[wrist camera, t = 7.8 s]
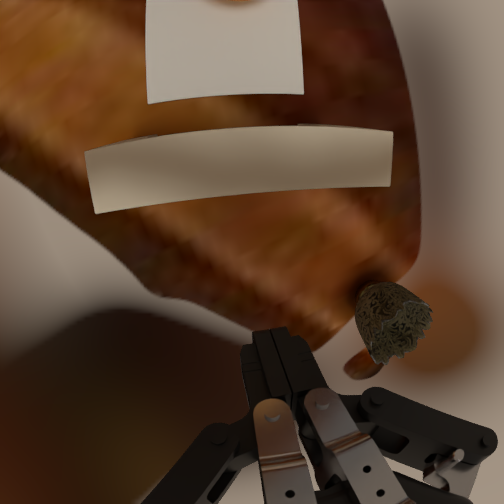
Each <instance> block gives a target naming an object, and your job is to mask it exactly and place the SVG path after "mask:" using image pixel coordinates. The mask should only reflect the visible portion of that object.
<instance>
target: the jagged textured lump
mask: <svg viewBox="0 0 504 504" xmlns="http://www.w3.org/2000/svg"><path fill="white" fill-rule="evenodd" d="M355 302H356V309H355V321H356V325H357V328H358V330H359V333H360V335H361V337H362V339H363V341H364V343H365V345H366V347H367V350H368V352H369V354H370V355H371V356H370V357H372V359H373V360H374V362H375V363H376V364H379V363H380V362H382V363H383V364H385V365H387V364H388V362H389V360H388V359H389V358H388V357H392V356H393V355H396V356H397V357H398V358H404V353H405V352H410V351H413V350H415V349H416V346H417V340H418V337H419V338H421V339H423V338H425V335H424V333H423V331H422V329H424V330H427V329H429V328H430V323H429V322H432V318H431V316H430V313H429V312H433V311H432V310H431V309H430V308H429V305H428V304H427V303H425V302H424V301H423V300H421V299H419V297H417V296H416V295H414V294H413V293H412V292H410V291H409V290H407V289H406V288H404V287H403V286H401V285H398V284H396V283H393V282H381V283H380V282H378V281H375V280H370V281H367V282H365V283H363V284H362V285H361V286H360V287H359V288H358V290H357V292H356V295H355ZM421 328H422V329H421Z"/></svg>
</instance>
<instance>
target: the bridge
mask: <svg viewBox="0 0 504 504" xmlns="http://www.w3.org/2000/svg"><path fill="white" fill-rule="evenodd" d="M392 148H393V132H390V131H383V130H375V129H367V128H359V127H349V126H338V125H325V124H298V126H257V127H238V128H224V129H212V130H202V131H193V132H185V133H177V134H169V135H163V136H157V134H155V135H149V136H143V137H138V138H132V139H128V140H124V141H120V142H116V143H113V144H109V145H105V146H102V147H98V148H95V149H92V150H88V151H85V152H84V153H85V160H86V167H87V173H88V179H89V185H90V190H91V195H92V200H93V205H94V210H95V214H98V213H104V212H110V211H116V210H122V209H128V208H134V207H141V206H147V205H154V204H161V203H169V202H176V201H184V200H192V199H201V198H209V197H219V196H228V195H238V194H249V193H261V192H273V191H287V190H302V189H320V188H342V187H379V186H390V181H391V167H392Z"/></svg>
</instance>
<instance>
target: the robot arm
mask: <svg viewBox="0 0 504 504" xmlns="http://www.w3.org/2000/svg"><path fill="white" fill-rule="evenodd" d="M252 341H253V344H246V345H243V346H242V349H241V353H240V359H241V369H242V376H243V381H244V385H245V390H246V395H247V399H248V403H249V408H250V410H249V412H248V413H247V415H246V416H245V417H244V418H242V419H241V420H239V421H237V422H235V423H232V424H230V425H228V424H225V423H213V424H210V425H208V426H206V427H205V428H204V429H203V430H202V431H201V433H200V434H199V435H198V436H197V438H196V439H195V440H194V441H193V443H192V444H191V445H190V446H189V448H188V449H187V450H186V451H185V453H184V454H183V455H182V456H181V458H180V459H179V460H178V461H177V463H176V464H175V465H174V466H173V467H172V468H171V470H170V471H169V472H168V473H167V474H166V475H165V477H164V478H163V479H162V480H161V481H160V483H159V484H158V485H157V486H156V487H155V488H154V489H153V490H152V492H151V493H150V494H149V495H148V496H147V497H146V499H144V500H143V502H142V503H141V504H218V503H219V501H220V500H221V498H222V497H223V496H224V494H225V493H226V491H227V490H228V489H229V487H230V486H231V484H232V483H233V481H234V480H235V478H236V477H237V475H238V474H239V473H240V471H241V469H242V468H244V467H246V466H248V465H250V464H252V463H254V462H256V461H258V464H259V470H260V477H261V484H262V491H263V498H264V504H473V503H472V502H471V501H470V500H469V499H468V498H469V495H470V493H471V490H472V487H473V485H474V481H475V479H476V476H477V473H478V469H479V467H480V464H481V462H482V461H483V460H484V459H486V458H487V457H488V456H490V455H491V454H492V453H493V452H494V451H495V450H496V448H497V444H498V440H497V435H496V433H495V432H494V431H493V430H492V429H490V428H487V427H484V426H481V425H478V424H475V423H471V422H469V421H466V420H463V419H460V418H457V417H454V416H451V415H449V414H446V413H443V412H441V411H438V410H435V409H433V408H430V407H428V406H425V405H423V404H420V403H418V402H415V401H413V400H410V399H408V398H405V397H403V396H400V395H398V394H396V393H393V392H391V391H389V390H386V389H384V388H381V387H372V388H369V389H367V390H365V391H364V392H363V394H362V395H341V394H337V393H336V392H334V391H333V390H331V389H330V388H329V387H328V386H327V383H326V381H325V379H324V377H323V375H322V373H321V371H320V369H319V367H318V364H317V363H316V360H315V359H314V356H313V354H312V353H311V350H310V348H309V345H308V343H307V342H306V341H305V340H304V339H303V338H301V337H300V336H299V335H297V336H292V337H290V334H289V332H288V329H287V327H286V326H284V327H278V328H272V329H267V330H260V331H254V332H252ZM293 420H296V421H297V424H298V427H299V428H298V435H299V438H300V440H301V442H302V444H303V446H304V449H305V451H306V453H307V455H308V457H309V460H310V462H311V464H312V466H313V469H314V472H315V479H316V482H317V485H318V486H319V489H320V491H314V489H313V485H312V481H311V477H310V473H309V469H308V465H307V462H306V459H305V457H304V456H303V455H302V453H301V450H300V446H299V442H298V438H297V434H296V430H295V425H294V422H293ZM383 456H385V457H388V458H390V459H392V460H395V461H397V462H399V463H402V464H405V465H407V466H410V467H412V468H415V469H418V470H421V471H423V481H424V482H426V483H428V484H430V485H428V484H426V483H423V482H420V481H417V480H415V479H413V478H411V477H408V476H406V475H403V474H401V473H398V472H395V471H392V470H391V468H390V467H389V465H388V463H387V462H386V460H385V458H384V457H383ZM431 485H432V486H431Z"/></svg>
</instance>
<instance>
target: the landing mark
mask: <svg viewBox="0 0 504 504" xmlns="http://www.w3.org/2000/svg"><path fill="white" fill-rule="evenodd" d="M146 80H147V98H148V104H153V103H159V102H165V101H172V100H180V99H188V98H197V97H207V96H220V95H237V94H304V86H303V66H302V50H301V37H300V24H299V13H298V3H297V0H249V1H230V0H146Z"/></svg>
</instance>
